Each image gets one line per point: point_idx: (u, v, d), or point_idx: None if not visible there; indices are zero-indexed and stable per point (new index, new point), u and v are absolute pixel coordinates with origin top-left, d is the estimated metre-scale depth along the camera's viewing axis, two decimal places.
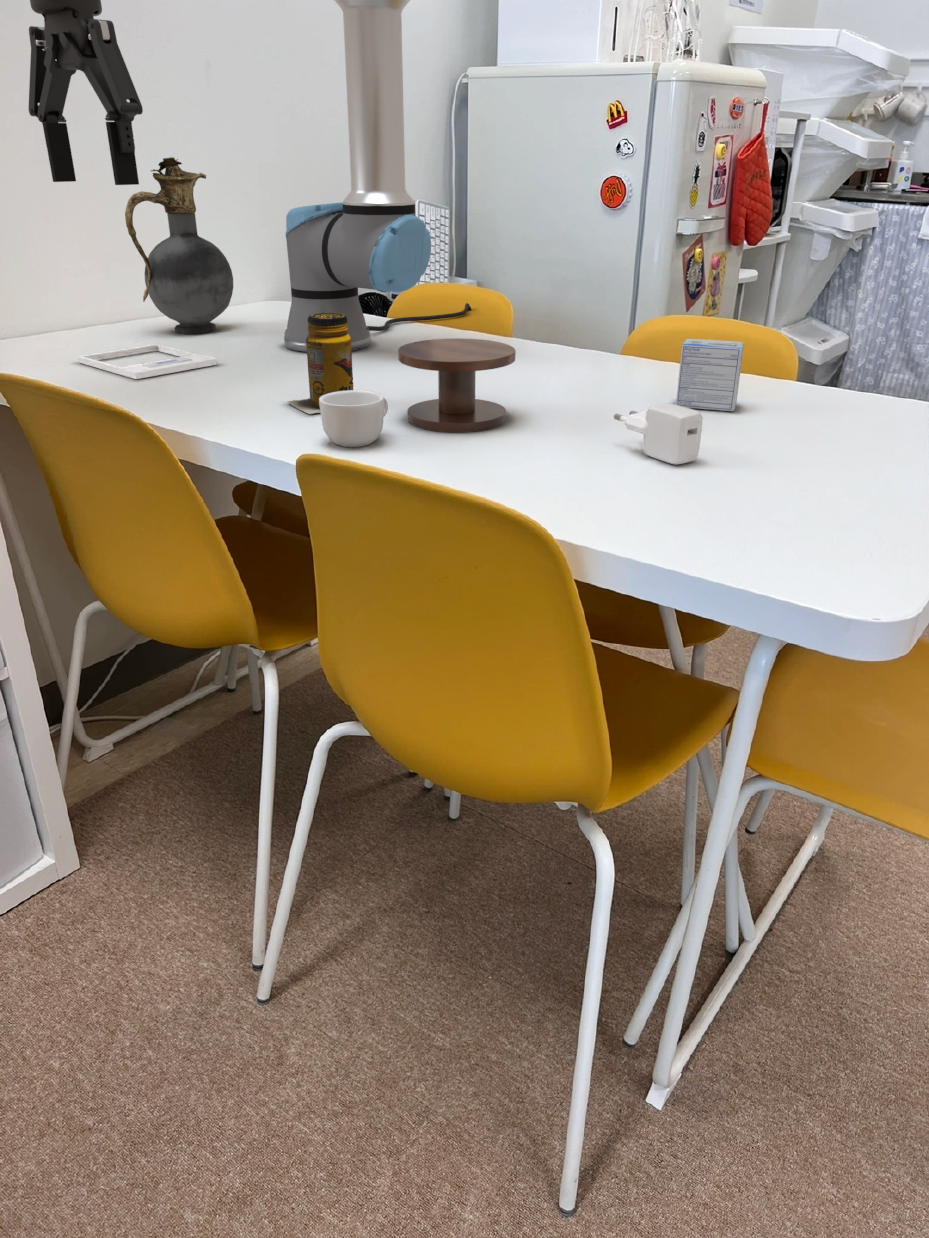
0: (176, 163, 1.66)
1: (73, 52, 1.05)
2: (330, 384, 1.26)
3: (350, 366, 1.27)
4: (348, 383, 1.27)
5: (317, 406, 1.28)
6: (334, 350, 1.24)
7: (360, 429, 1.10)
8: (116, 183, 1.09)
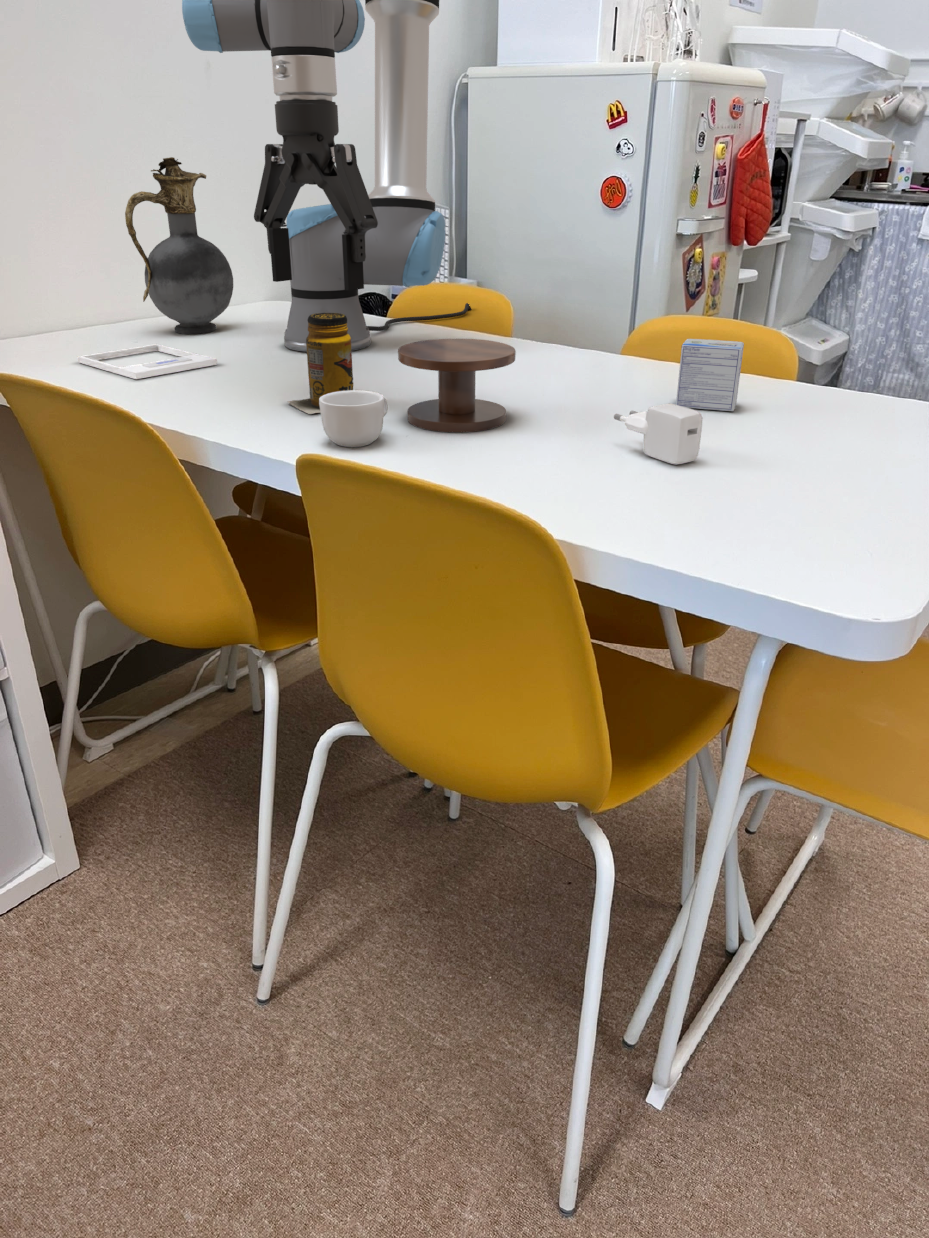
0: (176, 163, 1.66)
1: (315, 171, 1.14)
2: (330, 384, 1.26)
3: (350, 366, 1.27)
4: (348, 383, 1.27)
5: (317, 406, 1.28)
6: (334, 350, 1.24)
7: (360, 429, 1.10)
8: (346, 289, 1.18)
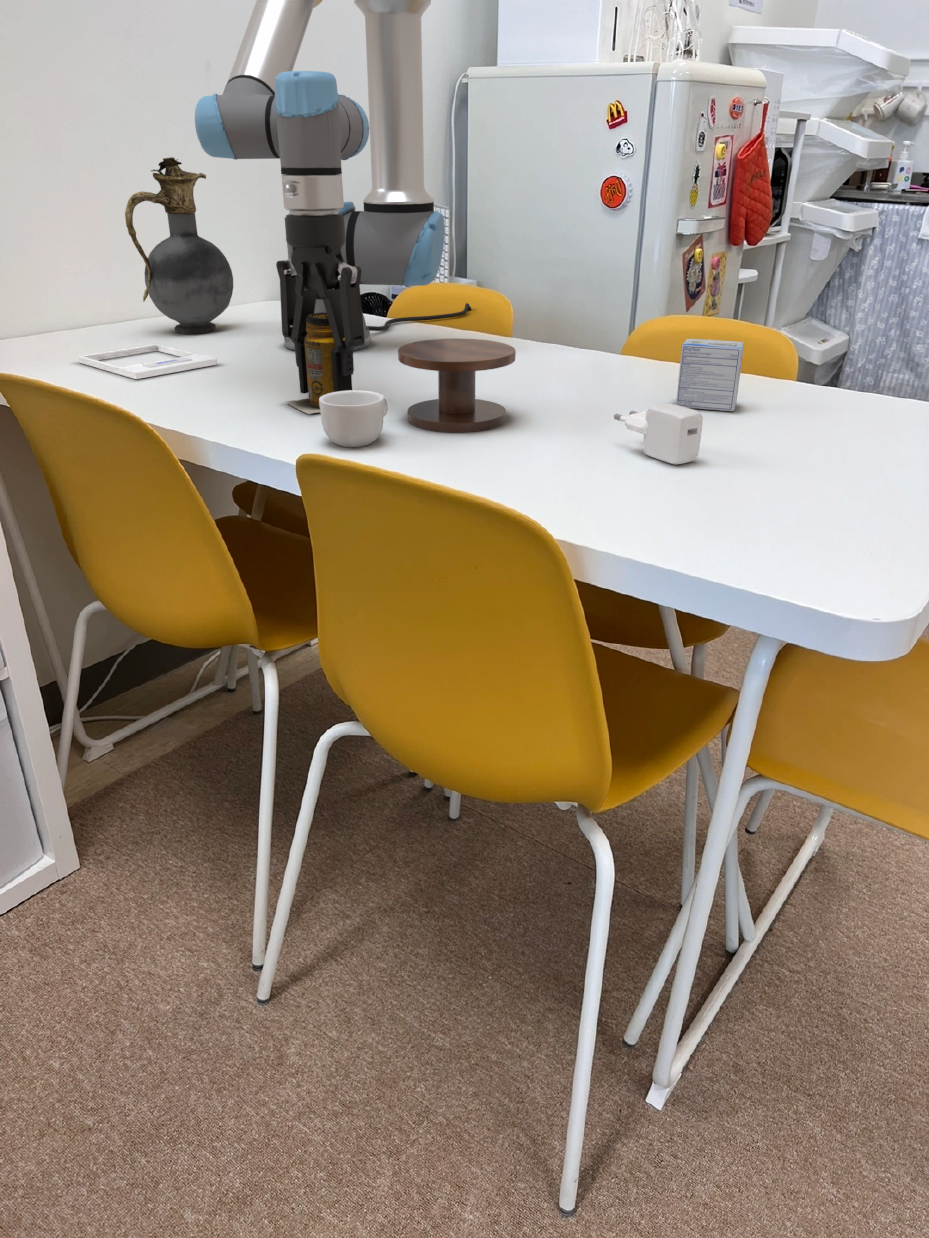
0: (176, 163, 1.66)
1: (320, 283, 1.20)
2: (329, 383, 1.26)
3: None
4: None
5: (316, 406, 1.28)
6: None
7: (360, 429, 1.10)
8: None
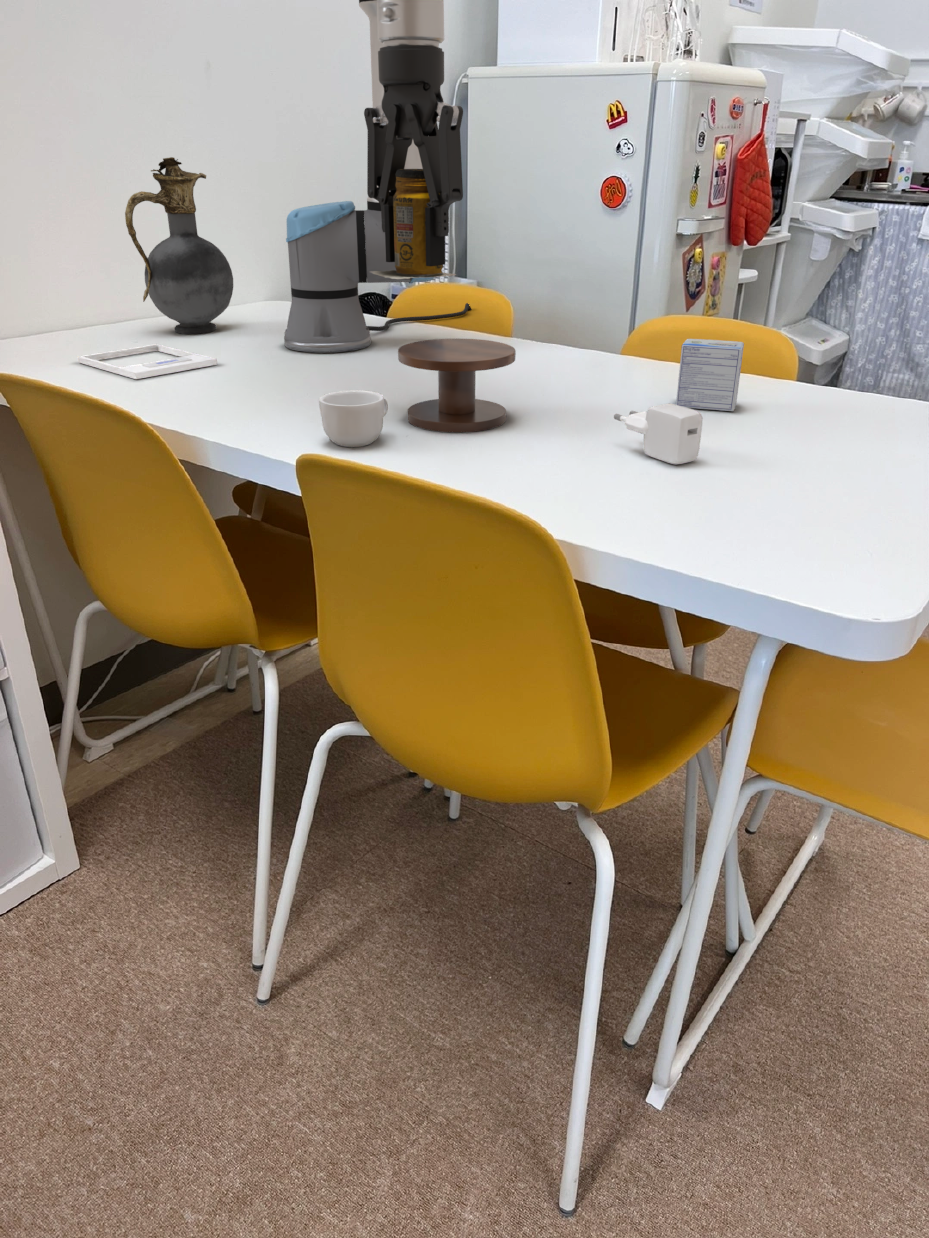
0: (176, 163, 1.66)
1: (415, 127, 1.07)
2: (420, 247, 1.13)
3: None
4: None
5: (404, 274, 1.15)
6: None
7: (360, 429, 1.10)
8: (427, 264, 1.13)
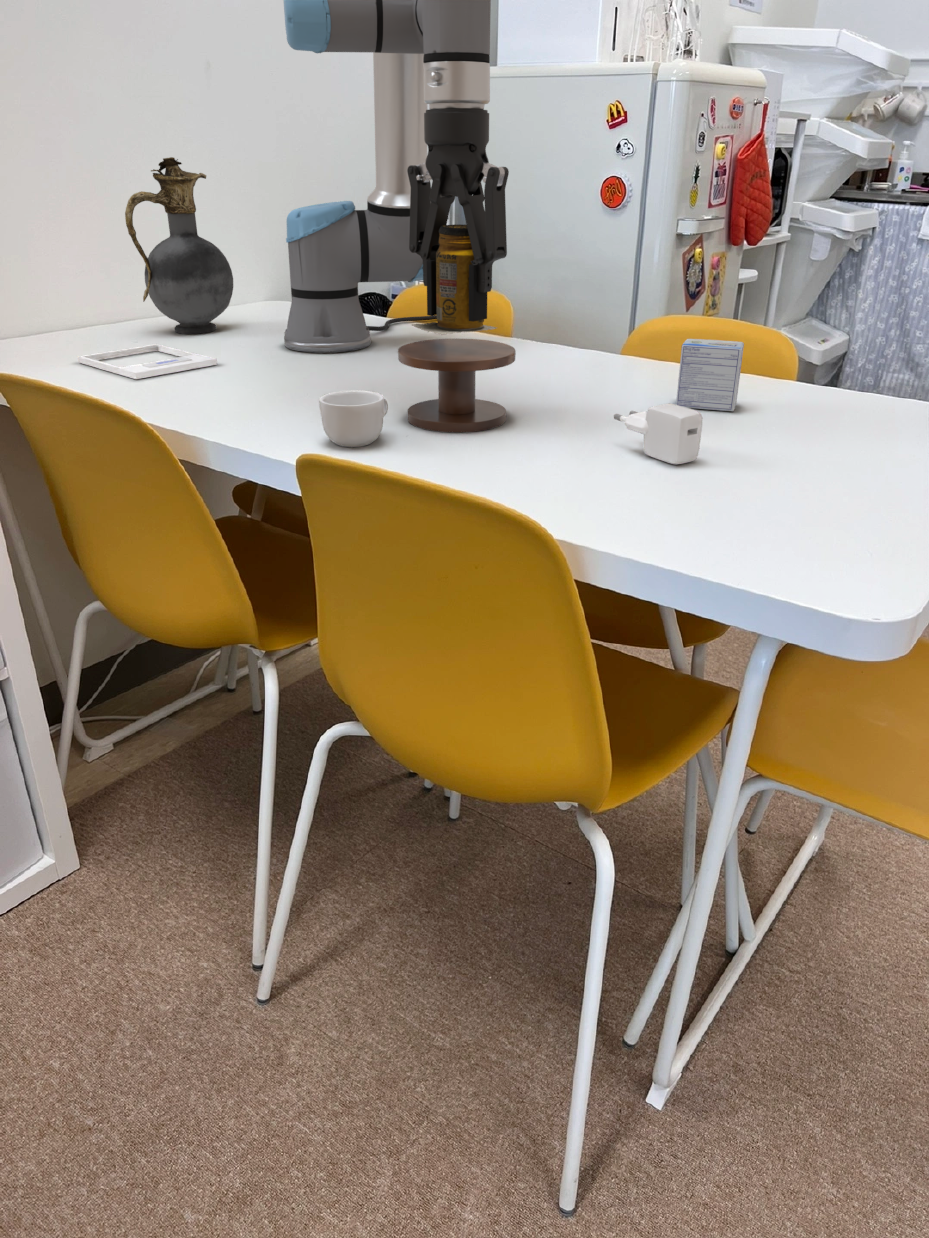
0: (176, 163, 1.66)
1: (460, 187, 1.09)
2: (463, 302, 1.15)
3: None
4: None
5: (446, 328, 1.17)
6: None
7: (360, 429, 1.10)
8: (470, 319, 1.15)
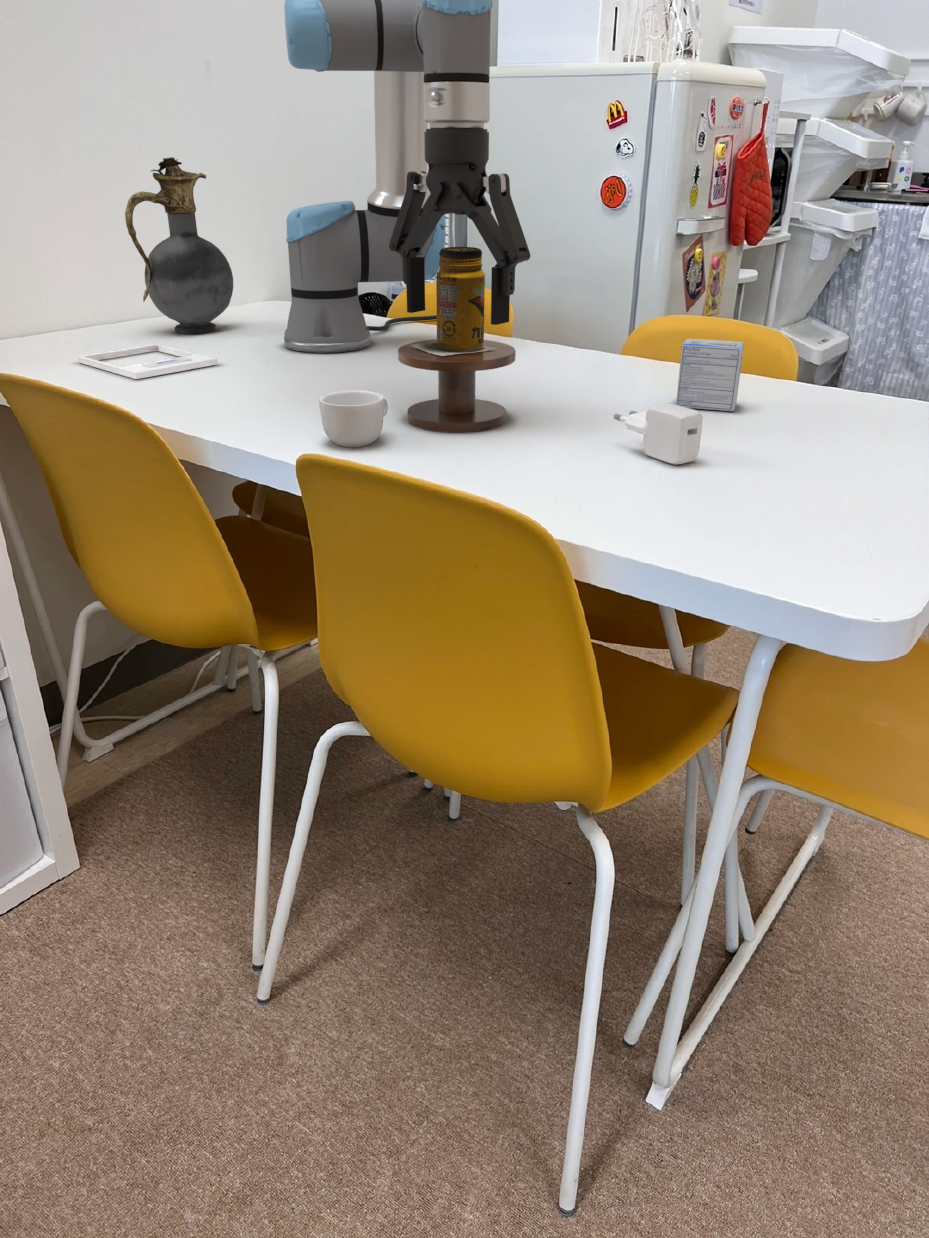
0: (176, 163, 1.66)
1: (465, 202, 1.09)
2: (463, 324, 1.16)
3: (483, 305, 1.17)
4: (481, 324, 1.17)
5: (446, 349, 1.18)
6: (470, 286, 1.14)
7: (360, 429, 1.10)
8: (492, 323, 1.13)
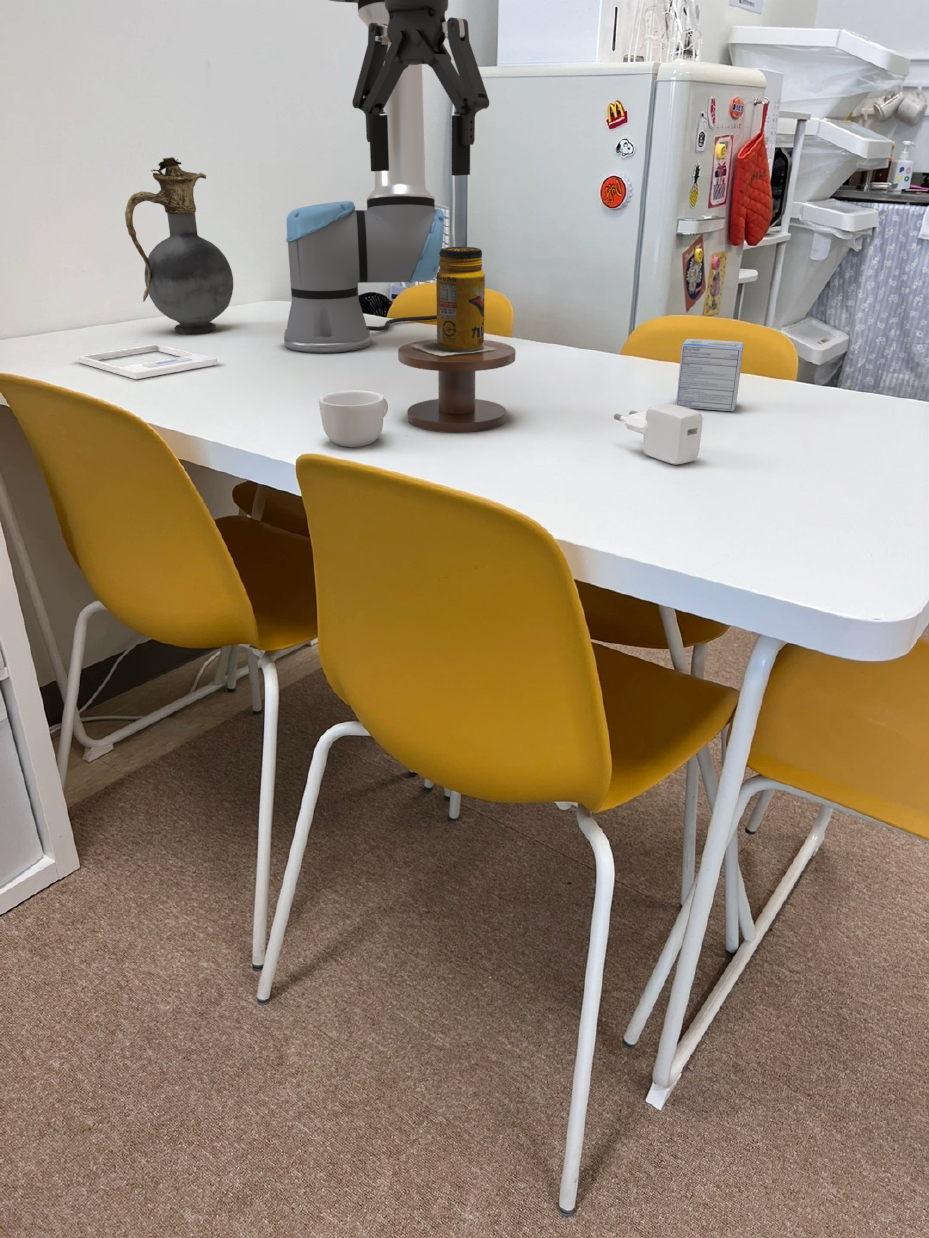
0: (176, 163, 1.66)
1: (425, 49, 1.11)
2: (463, 324, 1.16)
3: (483, 305, 1.17)
4: (481, 324, 1.17)
5: (446, 349, 1.18)
6: (470, 286, 1.14)
7: (360, 429, 1.10)
8: (453, 174, 1.15)
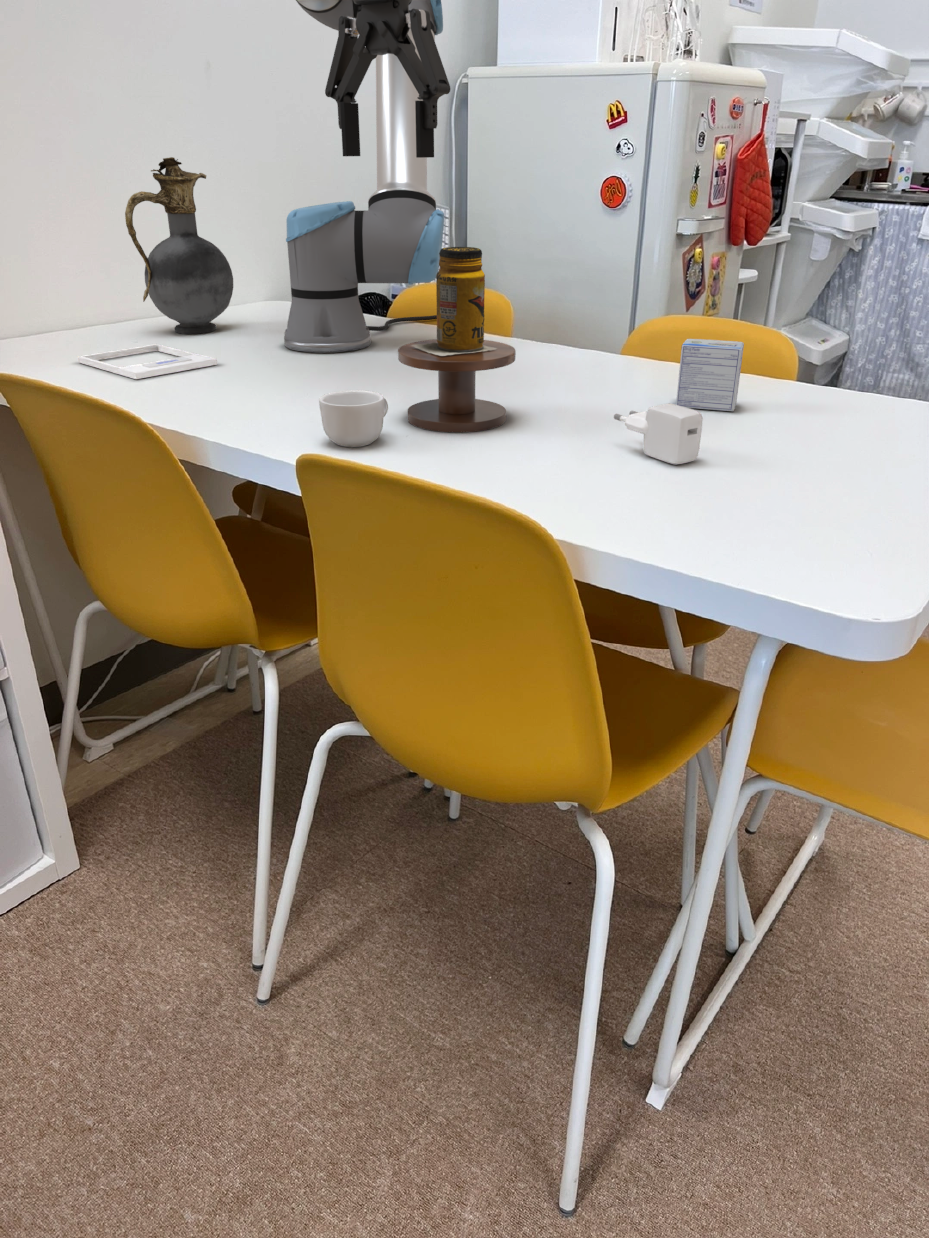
0: (176, 163, 1.66)
1: (390, 38, 1.18)
2: (463, 324, 1.16)
3: (483, 305, 1.17)
4: (481, 324, 1.17)
5: (446, 349, 1.18)
6: (470, 286, 1.14)
7: (360, 429, 1.10)
8: (418, 156, 1.22)
